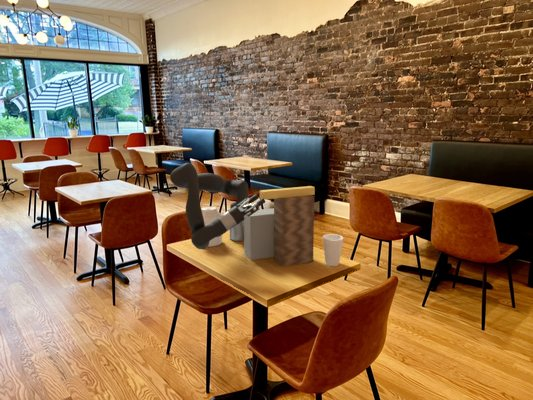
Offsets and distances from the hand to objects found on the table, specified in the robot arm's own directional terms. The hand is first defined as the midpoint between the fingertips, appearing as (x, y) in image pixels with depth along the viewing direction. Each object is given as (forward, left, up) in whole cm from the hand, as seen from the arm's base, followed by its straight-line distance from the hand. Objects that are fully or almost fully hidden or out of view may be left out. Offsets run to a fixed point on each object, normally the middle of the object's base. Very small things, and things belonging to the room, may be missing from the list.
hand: (261, 197), depth 179 cm
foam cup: (+31, +12, -33) cm, 47 cm away
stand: (+12, +10, -32) cm, 36 cm away
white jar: (-37, +20, -33) cm, 54 cm away
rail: (+10, +8, 0) cm, 13 cm away
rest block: (-4, +13, -32) cm, 35 cm away
